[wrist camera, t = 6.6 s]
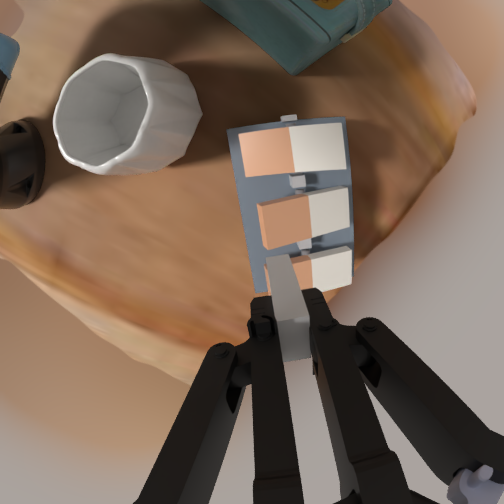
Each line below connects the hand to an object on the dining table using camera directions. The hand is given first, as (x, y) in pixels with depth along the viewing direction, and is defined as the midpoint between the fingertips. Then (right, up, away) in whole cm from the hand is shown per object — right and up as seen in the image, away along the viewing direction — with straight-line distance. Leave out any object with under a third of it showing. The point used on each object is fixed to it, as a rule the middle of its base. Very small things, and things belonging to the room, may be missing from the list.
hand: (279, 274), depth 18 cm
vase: (-15, +19, +13) cm, 27 cm away
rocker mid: (+4, +6, +11) cm, 13 cm away
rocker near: (+2, +12, +8) cm, 15 cm away
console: (+3, +9, +18) cm, 20 cm away
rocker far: (+5, -1, +14) cm, 15 cm away
